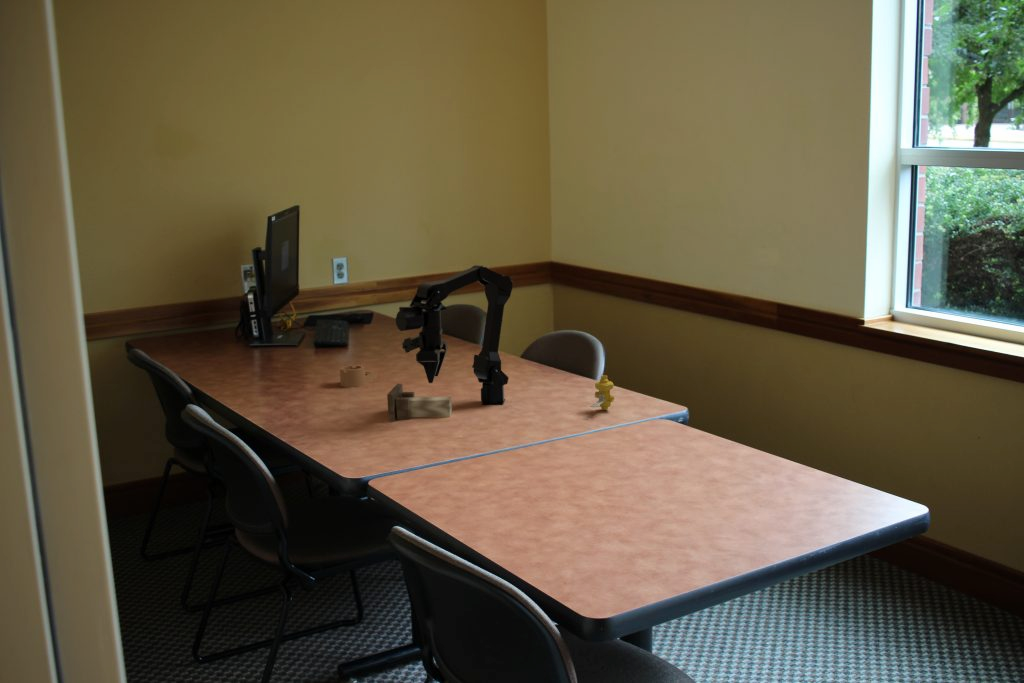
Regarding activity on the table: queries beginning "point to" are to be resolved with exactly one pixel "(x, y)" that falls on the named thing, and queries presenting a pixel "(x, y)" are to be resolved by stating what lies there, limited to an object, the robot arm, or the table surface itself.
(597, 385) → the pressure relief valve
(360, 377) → the bracket
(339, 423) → the table surface
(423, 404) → the rail
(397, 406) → the headboard
